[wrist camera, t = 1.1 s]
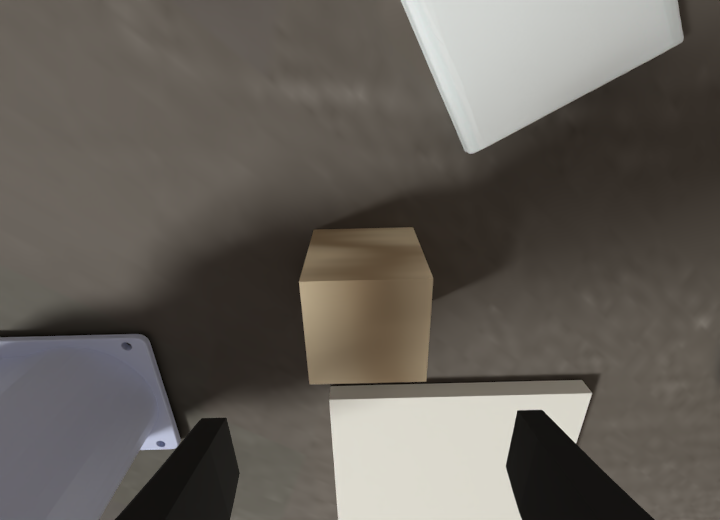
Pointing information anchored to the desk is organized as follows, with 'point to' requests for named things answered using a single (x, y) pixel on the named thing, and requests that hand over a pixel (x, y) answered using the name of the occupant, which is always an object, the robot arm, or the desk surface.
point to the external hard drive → (532, 54)
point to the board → (437, 446)
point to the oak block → (366, 306)
